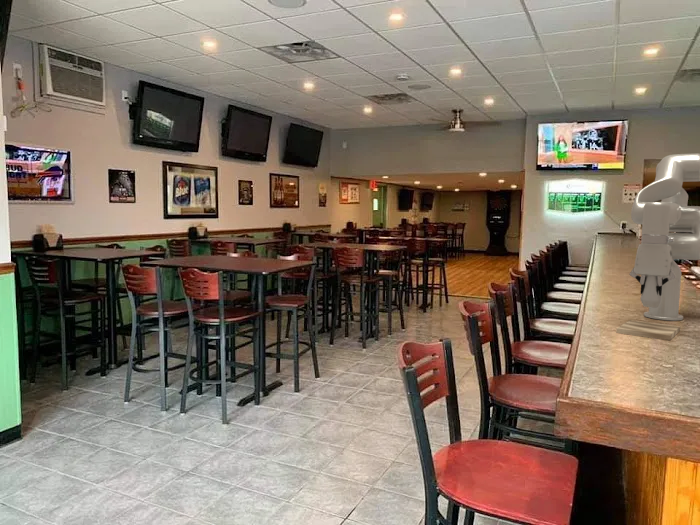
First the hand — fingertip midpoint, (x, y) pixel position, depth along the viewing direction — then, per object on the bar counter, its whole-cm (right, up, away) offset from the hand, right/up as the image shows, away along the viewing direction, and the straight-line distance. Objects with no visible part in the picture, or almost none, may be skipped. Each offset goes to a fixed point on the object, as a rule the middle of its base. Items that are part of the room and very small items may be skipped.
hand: (650, 296), depth 171 cm
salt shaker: (0, -3, 0) cm, 3 cm away
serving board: (0, -12, +1) cm, 12 cm away
